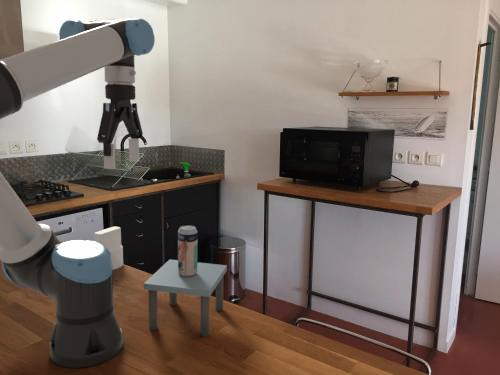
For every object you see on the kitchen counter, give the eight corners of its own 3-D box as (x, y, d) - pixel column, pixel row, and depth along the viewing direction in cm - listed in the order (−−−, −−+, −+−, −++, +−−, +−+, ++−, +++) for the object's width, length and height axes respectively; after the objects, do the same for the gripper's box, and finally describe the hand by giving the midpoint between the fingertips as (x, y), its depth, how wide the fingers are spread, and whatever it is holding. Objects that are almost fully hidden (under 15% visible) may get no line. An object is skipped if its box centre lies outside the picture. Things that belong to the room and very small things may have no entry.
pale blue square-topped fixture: (208, 338, 100) (209, 291, 98) (144, 330, 103) (143, 283, 101) (226, 307, 115) (226, 265, 113) (169, 300, 118) (169, 259, 116)
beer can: (176, 271, 108) (176, 225, 106) (195, 269, 110) (195, 224, 107) (179, 278, 104) (179, 231, 101) (199, 276, 105) (199, 229, 103)
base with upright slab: (108, 272, 136) (106, 236, 134) (88, 266, 140) (86, 231, 138) (128, 263, 144) (127, 229, 142) (109, 258, 148) (108, 224, 146)
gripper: (108, 82, 99) (112, 173, 103) (153, 86, 123) (154, 159, 127) (79, 81, 100) (83, 171, 104) (129, 85, 124) (131, 158, 128)
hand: (122, 165), depth 116 cm, fingers open, 13 cm apart
